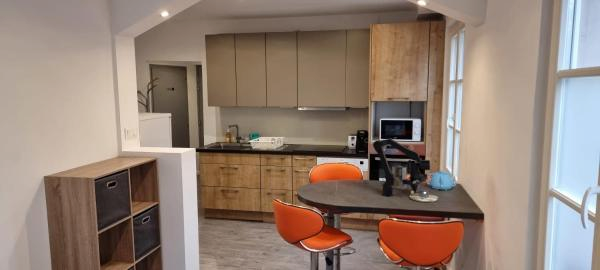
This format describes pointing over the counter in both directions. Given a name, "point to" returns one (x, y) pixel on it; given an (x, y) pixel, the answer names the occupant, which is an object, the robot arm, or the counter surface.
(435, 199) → the turntable
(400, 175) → the coffee box
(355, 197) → the counter surface
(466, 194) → the counter surface
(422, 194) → the cover
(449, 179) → the decorative pot
